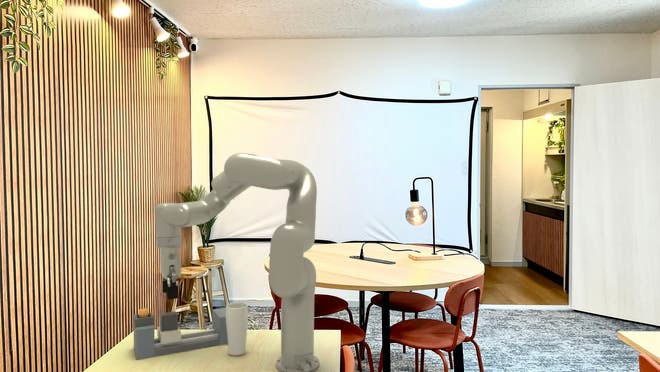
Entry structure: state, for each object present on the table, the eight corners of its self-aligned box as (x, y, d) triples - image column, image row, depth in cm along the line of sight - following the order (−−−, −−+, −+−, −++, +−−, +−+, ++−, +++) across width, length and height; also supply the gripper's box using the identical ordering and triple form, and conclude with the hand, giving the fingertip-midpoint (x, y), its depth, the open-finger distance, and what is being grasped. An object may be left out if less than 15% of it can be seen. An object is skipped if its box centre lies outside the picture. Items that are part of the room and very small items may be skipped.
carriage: (176, 333, 149) (176, 309, 148) (181, 341, 142) (181, 315, 141) (157, 336, 146) (157, 311, 146) (161, 344, 139) (160, 318, 139)
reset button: (147, 317, 142) (147, 307, 142) (149, 319, 139) (148, 310, 139) (138, 318, 141) (138, 308, 141) (139, 321, 138) (139, 311, 138)
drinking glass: (242, 358, 136) (242, 309, 136) (222, 356, 137) (221, 307, 137) (251, 349, 143) (251, 302, 142) (231, 348, 144) (231, 301, 144)
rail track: (226, 333, 158) (226, 300, 157) (234, 342, 149) (234, 307, 149) (133, 348, 143) (132, 312, 143) (136, 359, 135) (135, 321, 134)
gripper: (186, 244, 137) (187, 299, 137) (176, 238, 152) (177, 288, 153) (160, 246, 134) (161, 303, 134) (152, 239, 149) (154, 291, 149)
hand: (170, 295), depth 143 cm, fingers open, 9 cm apart
